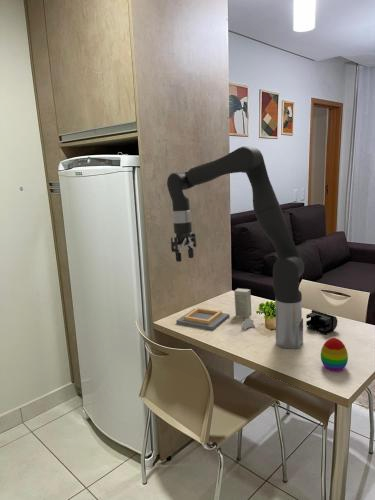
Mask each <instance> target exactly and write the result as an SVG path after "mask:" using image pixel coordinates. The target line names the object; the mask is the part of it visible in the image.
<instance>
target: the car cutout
mask: <svg viewBox="0 0 375 500" xmlns="http://www.w3.org/2000/svg"><path fill="white" fill-rule="evenodd" d="M241 324H242V325H241V327H240V328H241V329H242V330H245V331H247V329H249V328H251V327H253V328H255V327H256V326H255V323H254V319H252V318H250V317H249V318H245V320H244V322H243V323H241Z"/></svg>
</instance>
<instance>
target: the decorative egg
mask: <svg viewBox="0 0 375 500" xmlns="http://www.w3.org/2000/svg"><path fill="white" fill-rule="evenodd" d="M320 360H321V363H322V365H323V366H324V368H325V369H326V370H328V371H331V372H341V371H343V370H344V369H345V368H346V366H347V364H348V361H349V354H348V349H347V347H346V345H345V343H344V342H343V341H341V340H340V339H339V338H336V337H331V338H329V339H327V340H326V341H325V342H324V344H323V345H322V347H321V351H320Z"/></svg>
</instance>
